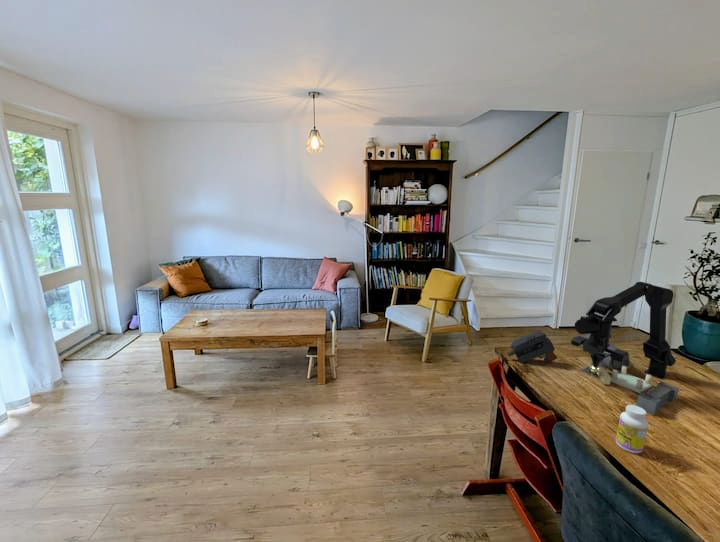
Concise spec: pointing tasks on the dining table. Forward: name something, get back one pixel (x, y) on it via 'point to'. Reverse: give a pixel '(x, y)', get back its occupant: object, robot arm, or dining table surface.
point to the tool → (533, 347)
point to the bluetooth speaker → (610, 362)
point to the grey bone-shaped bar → (657, 398)
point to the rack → (631, 380)
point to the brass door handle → (601, 373)
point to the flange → (592, 373)
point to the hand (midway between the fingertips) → (595, 367)
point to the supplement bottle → (632, 429)
